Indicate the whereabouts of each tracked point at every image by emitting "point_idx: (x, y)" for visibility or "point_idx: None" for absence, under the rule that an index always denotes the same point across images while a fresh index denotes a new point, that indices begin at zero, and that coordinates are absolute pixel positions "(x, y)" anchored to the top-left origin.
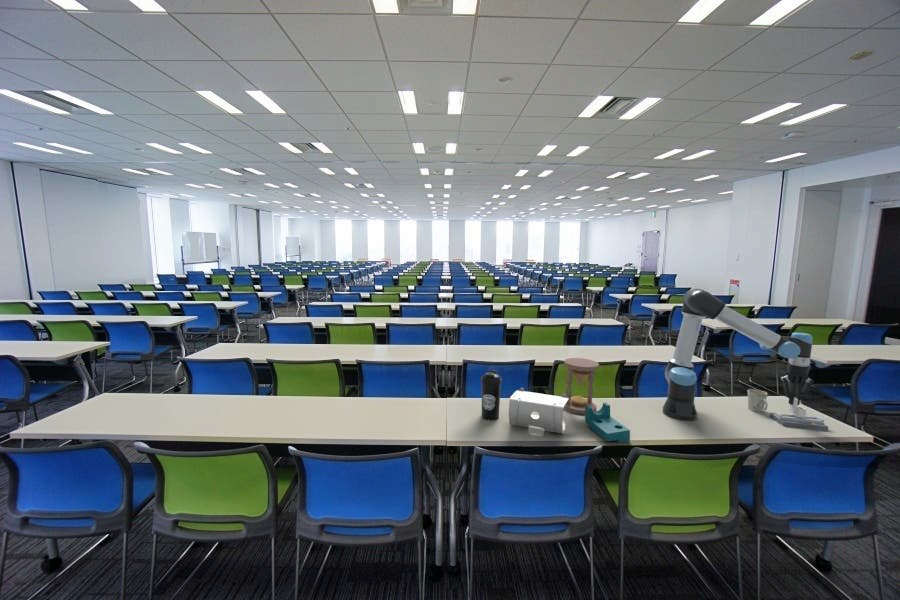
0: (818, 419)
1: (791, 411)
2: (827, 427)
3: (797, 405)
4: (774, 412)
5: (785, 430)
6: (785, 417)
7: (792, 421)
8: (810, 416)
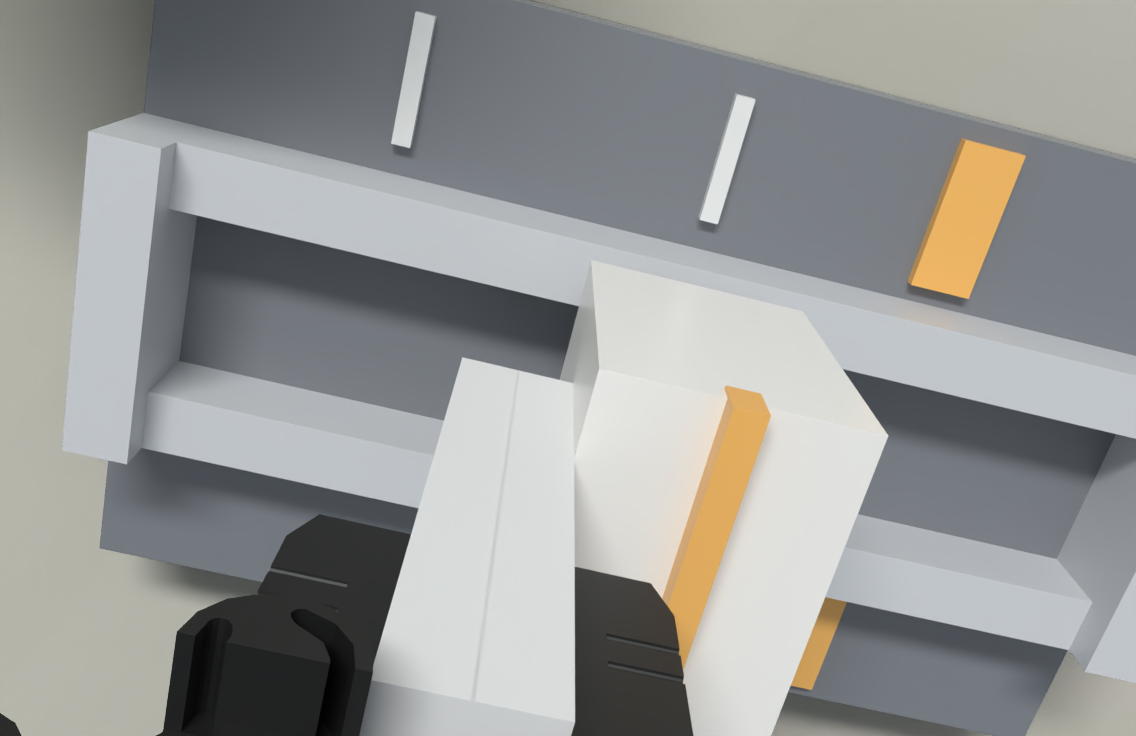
0: (1114, 541)
1: (587, 291)
2: (1000, 722)
3: (701, 523)
4: (99, 153)
5: (32, 698)
6: (225, 463)
7: (374, 515)
8: (1084, 383)
